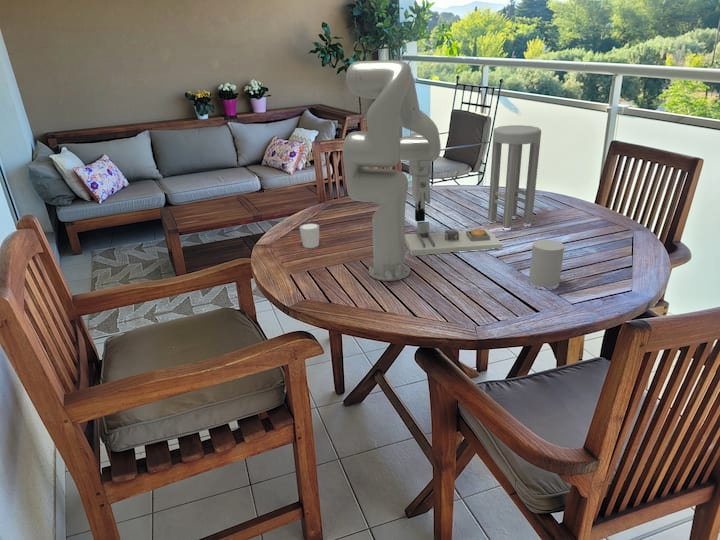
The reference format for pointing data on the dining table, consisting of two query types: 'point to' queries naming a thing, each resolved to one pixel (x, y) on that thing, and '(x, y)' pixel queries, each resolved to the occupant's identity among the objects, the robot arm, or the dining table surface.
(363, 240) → the dining table surface
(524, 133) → the stool
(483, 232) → the push button
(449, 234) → the rocker switch
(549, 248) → the cup
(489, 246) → the switch panel
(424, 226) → the grey slider handle
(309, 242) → the shot glass
